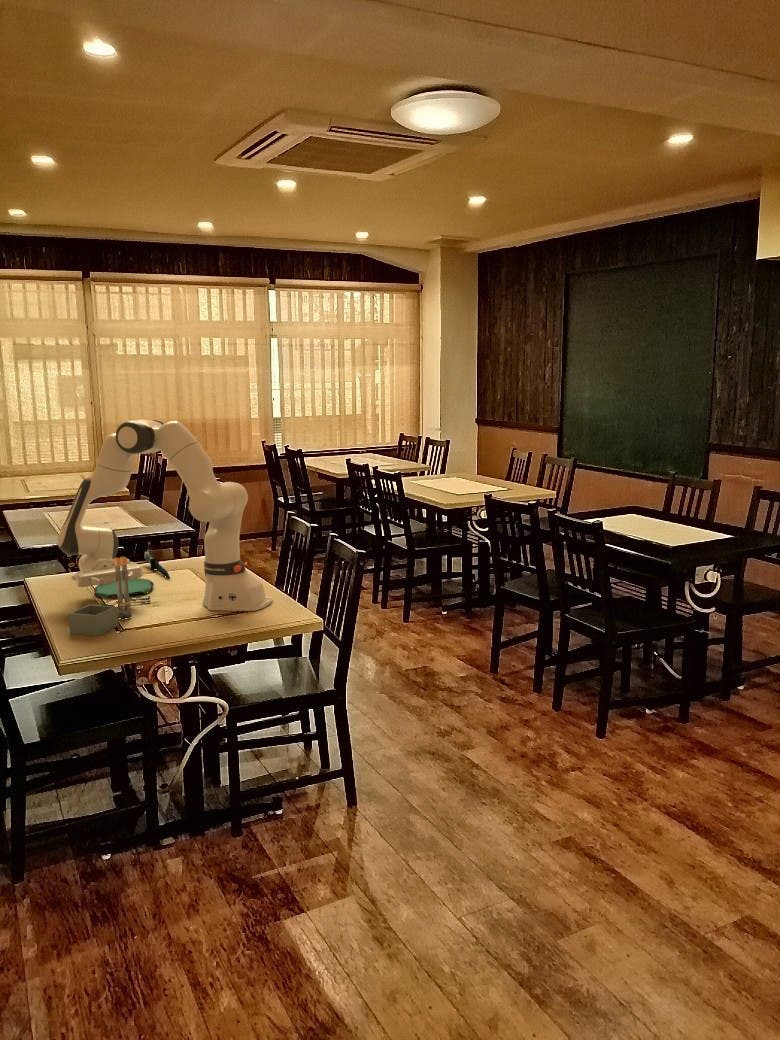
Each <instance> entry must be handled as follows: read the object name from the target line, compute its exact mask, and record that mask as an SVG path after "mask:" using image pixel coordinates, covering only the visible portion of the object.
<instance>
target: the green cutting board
mask: <svg viewBox="0 0 780 1040" xmlns="http://www.w3.org/2000/svg"><path fill="white" fill-rule="evenodd" d="M121 585H122V597H124V590H123V581H121ZM154 585H155V583H154V582H153V581H151V580H150V579H148V578H142V577H140V578H135V579H133V580H128V589H129V596H130V597H129V599H130V601H133V602H137V603H145V602H151V603H152V601H151V595H149V596H146V597H148V598H141V597H142V596H138V597H136V596H135V597H134V595H138V594H142V593H143V594H145V593H147V592H149V593H150V592H151V590H152V588H153V587H154ZM93 591H94V593H95V594H96V595H97V596H98V597H100V596H104V597H103V598H107V597H113V596H114V597H115V598H118V597H117V585H116V582H114V583H111V584H109V585H106V586H100V585H99V586H98V585H96V586H95V587H94V589H93ZM132 598H136V599H133V600H131V599H132ZM149 599H150V600H149ZM136 600H141V601H136Z"/></svg>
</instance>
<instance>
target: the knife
mask: <svg viewBox="0 0 780 1040" xmlns="http://www.w3.org/2000/svg"><path fill="white" fill-rule="evenodd" d="M143 555H144V559H145V560H146V561H147V562H148V564H150V565H149V566H150V570H151V571H152V570H154V569H157V570H156V571H158V572H159V574H161V575H162V574H163V575H164V577H165V576H166V577H167V578H169V579H168V580H171V576H170V574H169V572H168V570H167V569H165V568H164V567H163V566H162V565H161V564H160V563H159V557H154V558H153V557H152V555H151V554H150V553H149V551H148V550H144V553H143ZM154 571H155V570H154ZM163 575H162V576H163ZM166 577H165V578H166ZM167 578H166V579H167Z"/></svg>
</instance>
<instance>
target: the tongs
mask: <svg viewBox="0 0 780 1040" xmlns="http://www.w3.org/2000/svg"><path fill="white" fill-rule="evenodd" d="M127 559H128V558H127V557H125V556H120V557H115V558H114V565H115V572H116V585H117V597H116V598H117V599H118V601H116V602H117V603H116V604H118V607H117V615H118V618H121V619H125V618H130V617H133V616H132V608H131V605H130V604H131V603H132V602H131V600H129V598H130V595H129V589H128V576H127ZM121 564H122V577H123V590H124V596H122V585H121V572H120V566H121ZM123 599H124V600H123ZM123 605H125V606H123Z"/></svg>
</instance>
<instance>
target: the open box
mask: <svg viewBox="0 0 780 1040" xmlns="http://www.w3.org/2000/svg"><path fill="white" fill-rule="evenodd" d="M117 609H118V607H115V606H113V605H105V604H103V605H101V604H90V603H89V604H87V605H84V606H83V607H80V608H78V609H76V610H73V611H71V612H69V613H68V614H67V615H68V617H67V618H68V626H69V633H70V634H72V633H73V634H72V635H74V634H75V635H84V636H92V637H99V636H101V635H103V634H105V633H107V632H109V631H111V630H114V629H115V628H117V627H119V619H118V611H117Z"/></svg>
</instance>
